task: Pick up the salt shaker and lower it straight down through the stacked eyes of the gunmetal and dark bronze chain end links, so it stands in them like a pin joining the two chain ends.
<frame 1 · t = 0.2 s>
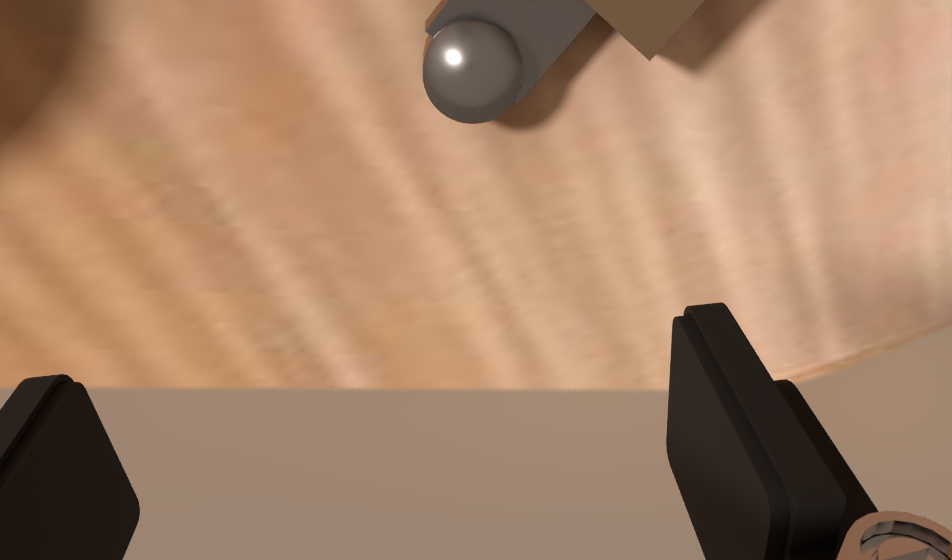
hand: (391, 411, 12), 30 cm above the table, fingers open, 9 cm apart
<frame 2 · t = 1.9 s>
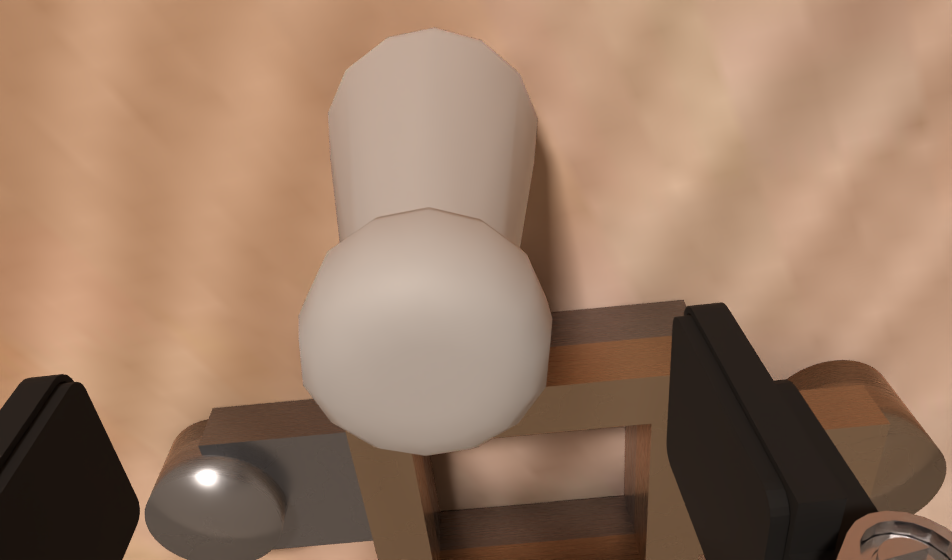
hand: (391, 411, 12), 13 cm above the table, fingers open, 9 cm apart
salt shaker: (434, 105, 23), on the table
lower end link: (526, 436, 30), on the table
upper end link: (526, 436, 30), on the table
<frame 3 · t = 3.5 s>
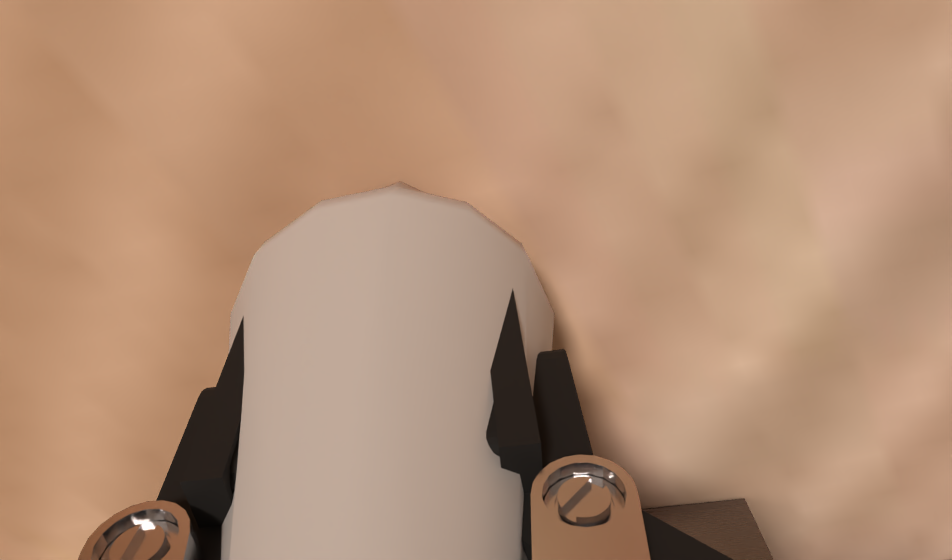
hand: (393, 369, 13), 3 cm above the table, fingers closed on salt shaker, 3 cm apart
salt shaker: (400, 269, 16), on the table, touching gripper
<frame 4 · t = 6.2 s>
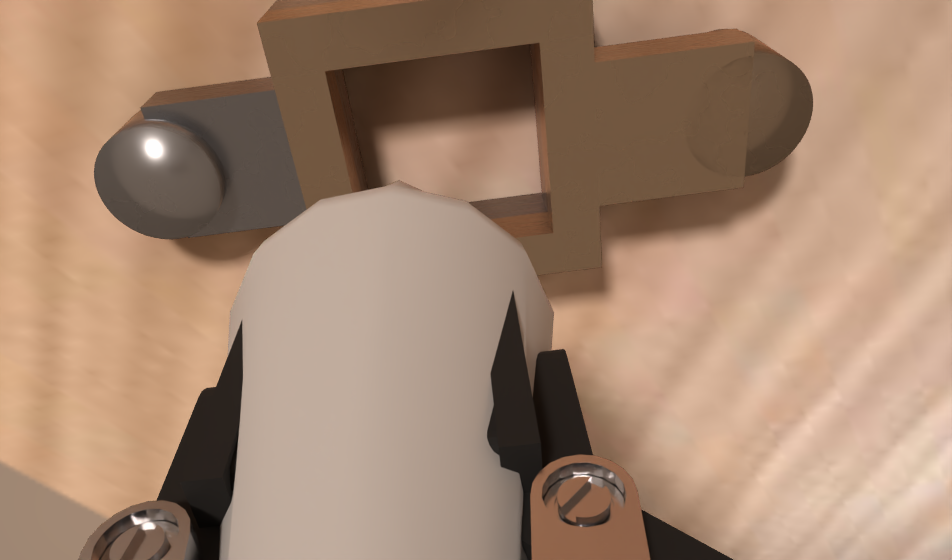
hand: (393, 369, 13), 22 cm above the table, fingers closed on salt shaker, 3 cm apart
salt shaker: (400, 268, 16), point 18 cm above the table, touching gripper
lower end link: (445, 122, 33), on the table
upper end link: (445, 122, 33), on the table
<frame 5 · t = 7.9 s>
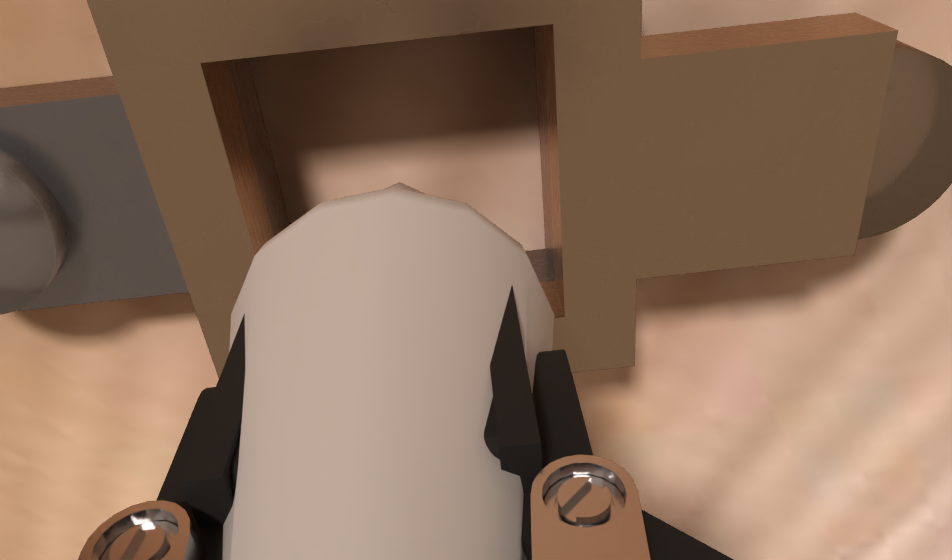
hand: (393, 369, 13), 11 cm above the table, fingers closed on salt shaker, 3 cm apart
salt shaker: (400, 270, 16), point 7 cm above the table, touching gripper
lower end link: (406, 147, 22), on the table
upper end link: (406, 147, 22), on the table
when the fingers open (6 cm above the table, at t = 9.2 s): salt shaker drops 3 cm, resting in lower end link.
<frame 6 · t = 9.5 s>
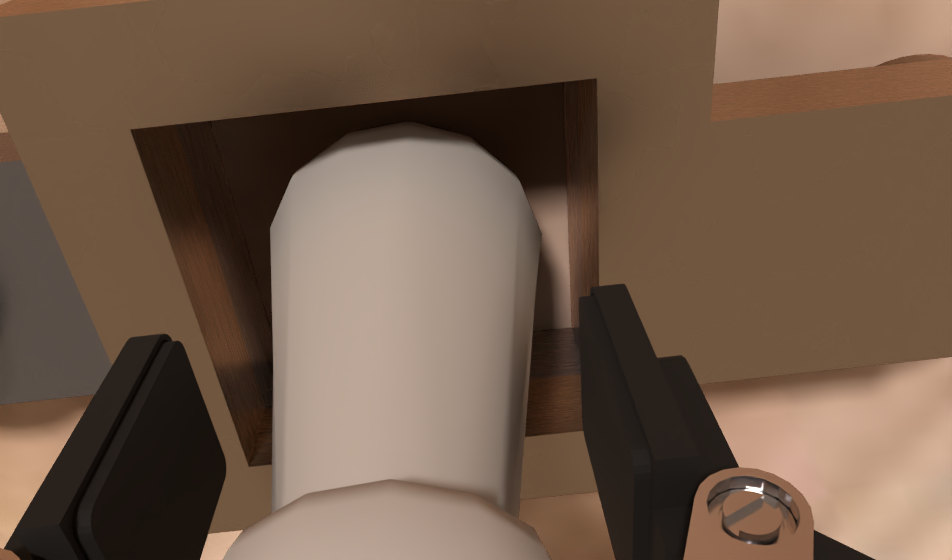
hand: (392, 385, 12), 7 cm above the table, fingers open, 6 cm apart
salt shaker: (410, 204, 18), resting in lower end link
lower end link: (404, 211, 18), on the table
upper end link: (404, 211, 18), on the table
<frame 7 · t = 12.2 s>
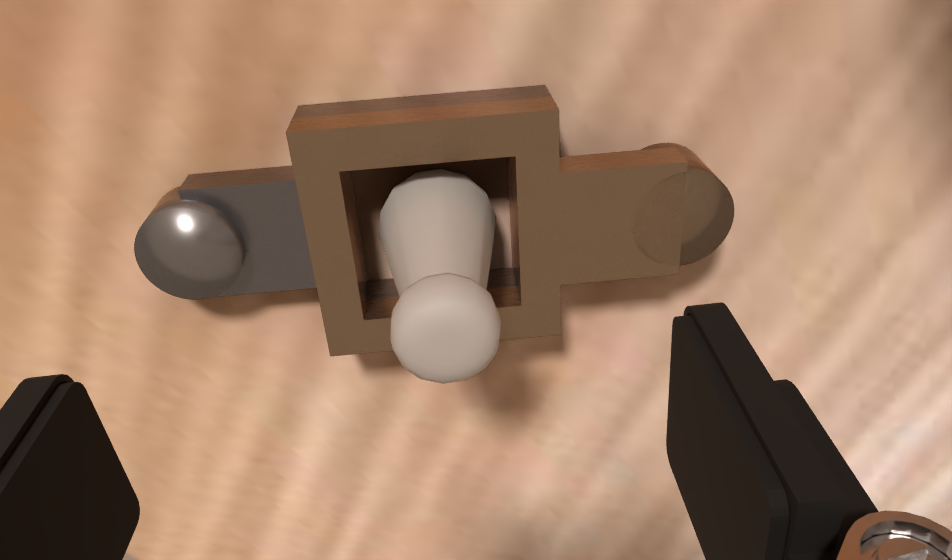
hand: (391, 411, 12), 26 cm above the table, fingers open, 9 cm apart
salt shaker: (436, 204, 39), resting in lower end link
lower end link: (433, 208, 39), on the table
upper end link: (433, 208, 39), on the table
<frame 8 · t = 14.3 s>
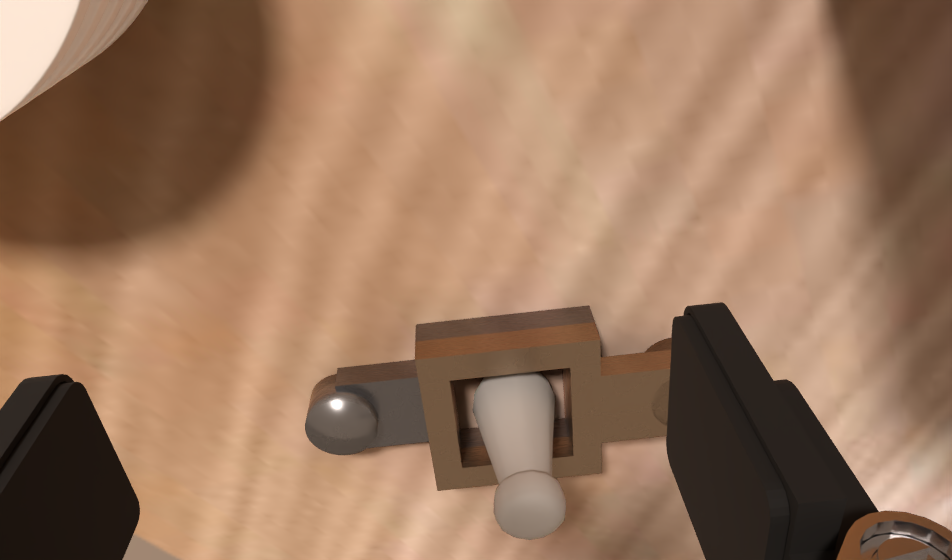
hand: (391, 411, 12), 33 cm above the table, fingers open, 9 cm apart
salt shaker: (510, 379, 55), resting in lower end link
lower end link: (508, 382, 54), on the table
upper end link: (508, 382, 54), on the table
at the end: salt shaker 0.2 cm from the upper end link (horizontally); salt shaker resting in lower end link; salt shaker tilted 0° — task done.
